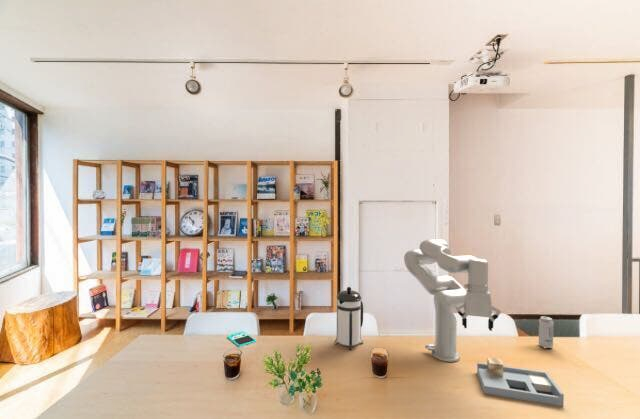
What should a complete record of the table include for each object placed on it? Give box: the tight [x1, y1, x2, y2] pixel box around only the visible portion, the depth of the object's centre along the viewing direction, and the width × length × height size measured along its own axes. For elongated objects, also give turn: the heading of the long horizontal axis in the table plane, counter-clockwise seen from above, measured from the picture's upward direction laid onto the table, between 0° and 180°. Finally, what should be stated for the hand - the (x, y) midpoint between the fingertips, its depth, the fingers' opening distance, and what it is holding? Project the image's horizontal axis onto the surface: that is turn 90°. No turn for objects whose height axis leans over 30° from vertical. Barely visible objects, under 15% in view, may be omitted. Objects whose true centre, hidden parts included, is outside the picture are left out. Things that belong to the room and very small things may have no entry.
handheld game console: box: [227, 331, 257, 348], centre depth 172 cm, size 10×16×1 cm, turn 40°
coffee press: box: [333, 286, 364, 351], centre depth 167 cm, size 17×16×30 cm
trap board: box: [476, 361, 565, 407], centre depth 128 cm, size 26×16×4 cm, turn 73°
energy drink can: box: [538, 315, 554, 349], centre depth 164 cm, size 6×6×15 cm
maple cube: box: [486, 357, 504, 377], centre depth 133 cm, size 5×5×5 cm
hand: (477, 328), depth 135 cm, fingers open, 9 cm apart
